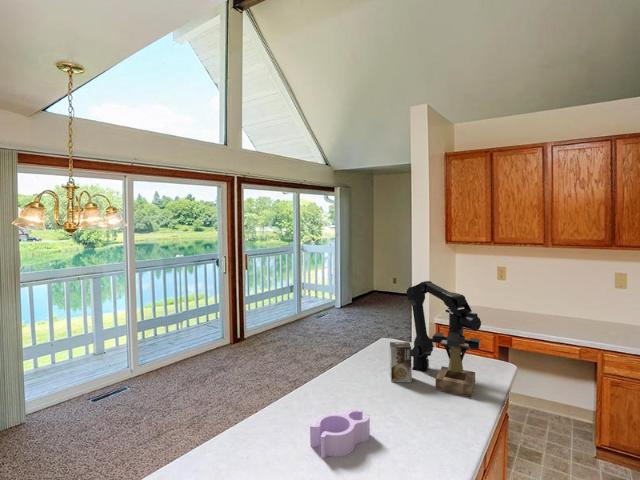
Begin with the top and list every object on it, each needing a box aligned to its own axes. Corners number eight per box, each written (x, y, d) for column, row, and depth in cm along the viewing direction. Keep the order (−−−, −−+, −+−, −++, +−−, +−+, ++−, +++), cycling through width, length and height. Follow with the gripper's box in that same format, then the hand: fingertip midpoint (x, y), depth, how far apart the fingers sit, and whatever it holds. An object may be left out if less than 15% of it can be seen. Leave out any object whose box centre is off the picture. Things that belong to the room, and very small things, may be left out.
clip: (354, 423, 132) (354, 404, 132) (377, 441, 122) (377, 421, 121) (306, 442, 122) (305, 421, 121) (326, 463, 111) (326, 441, 111)
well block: (435, 389, 156) (435, 378, 156) (442, 376, 168) (442, 366, 168) (471, 397, 149) (471, 385, 149) (475, 383, 162) (475, 372, 161)
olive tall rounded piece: (464, 372, 155) (464, 347, 154) (449, 371, 156) (449, 346, 155) (461, 367, 161) (462, 342, 160) (447, 366, 162) (447, 341, 161)
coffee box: (409, 376, 169) (409, 342, 168) (411, 382, 163) (411, 347, 162) (389, 375, 170) (389, 341, 169) (390, 382, 164) (390, 346, 163)
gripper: (429, 326, 155) (429, 362, 156) (477, 333, 146) (477, 371, 147) (435, 319, 164) (434, 353, 165) (480, 325, 155) (480, 361, 156)
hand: (455, 360), depth 158 cm, fingers closed on olive tall rounded piece, 4 cm apart
